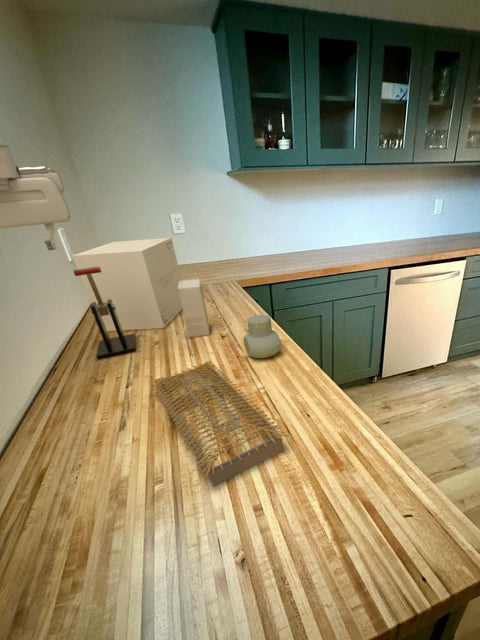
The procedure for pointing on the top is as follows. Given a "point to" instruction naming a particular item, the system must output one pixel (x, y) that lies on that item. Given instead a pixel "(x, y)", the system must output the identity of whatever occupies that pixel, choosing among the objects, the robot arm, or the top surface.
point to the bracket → (112, 345)
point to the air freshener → (261, 337)
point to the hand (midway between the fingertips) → (25, 252)
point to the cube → (135, 281)
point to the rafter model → (206, 394)
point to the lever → (94, 288)
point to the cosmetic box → (194, 307)
